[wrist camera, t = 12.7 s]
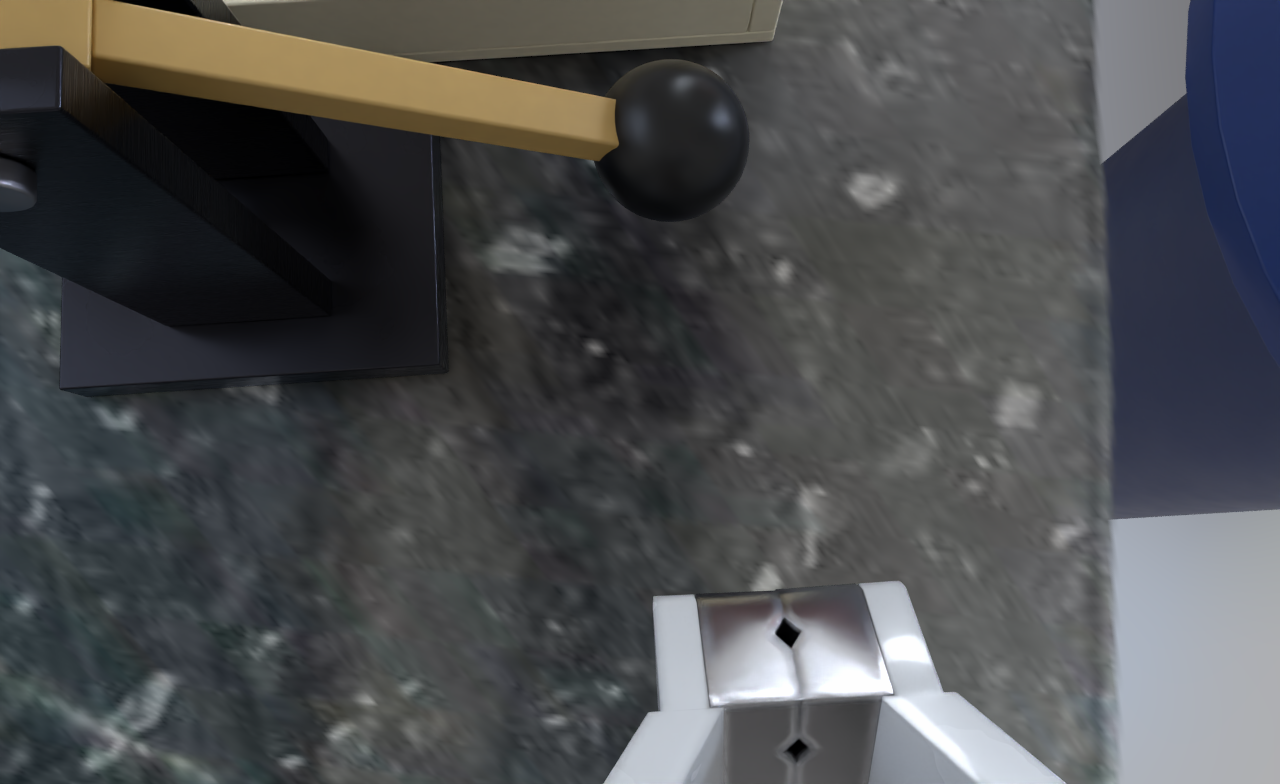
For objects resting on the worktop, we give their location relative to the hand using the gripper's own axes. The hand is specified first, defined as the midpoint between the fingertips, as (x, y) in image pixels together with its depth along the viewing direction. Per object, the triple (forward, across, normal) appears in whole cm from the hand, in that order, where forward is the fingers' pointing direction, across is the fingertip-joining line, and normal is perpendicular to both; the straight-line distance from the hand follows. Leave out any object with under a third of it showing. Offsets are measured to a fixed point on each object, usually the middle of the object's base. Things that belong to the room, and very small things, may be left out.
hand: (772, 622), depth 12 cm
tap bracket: (+17, -12, -3) cm, 21 cm away
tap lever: (+12, -7, +2) cm, 14 cm away
